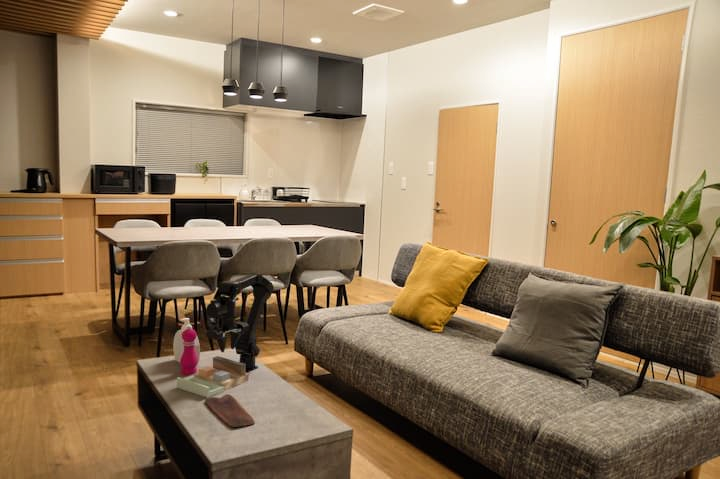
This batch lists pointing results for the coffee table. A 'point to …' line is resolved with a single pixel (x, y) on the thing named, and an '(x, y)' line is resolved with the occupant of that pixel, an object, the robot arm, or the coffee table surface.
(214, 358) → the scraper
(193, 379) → the tray
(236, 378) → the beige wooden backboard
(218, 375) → the grey square block
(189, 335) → the pepper mill
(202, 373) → the terracotta tile
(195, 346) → the soap bottle
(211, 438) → the coffee table surface
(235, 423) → the wooden tablet
